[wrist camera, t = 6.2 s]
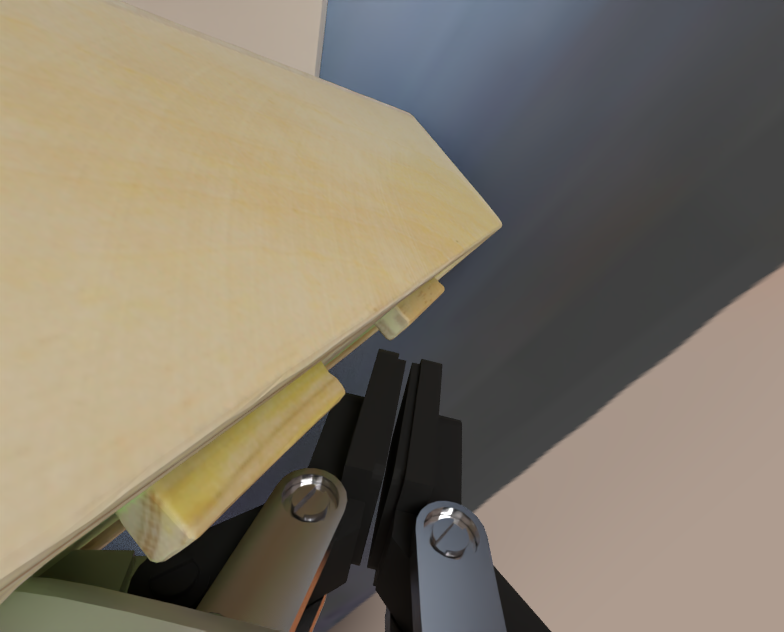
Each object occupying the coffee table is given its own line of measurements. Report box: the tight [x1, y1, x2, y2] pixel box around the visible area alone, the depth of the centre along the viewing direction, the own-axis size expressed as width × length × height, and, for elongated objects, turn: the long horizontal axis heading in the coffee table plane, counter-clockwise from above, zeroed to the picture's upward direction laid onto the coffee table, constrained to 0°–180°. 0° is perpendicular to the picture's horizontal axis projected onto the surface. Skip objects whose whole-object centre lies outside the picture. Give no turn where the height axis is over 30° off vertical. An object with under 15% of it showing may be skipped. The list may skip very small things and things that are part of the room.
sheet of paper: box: [121, 0, 328, 78], centre depth 24 cm, size 20×20×1 cm
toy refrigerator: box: [0, 0, 502, 605], centre depth 13 cm, size 8×7×21 cm
